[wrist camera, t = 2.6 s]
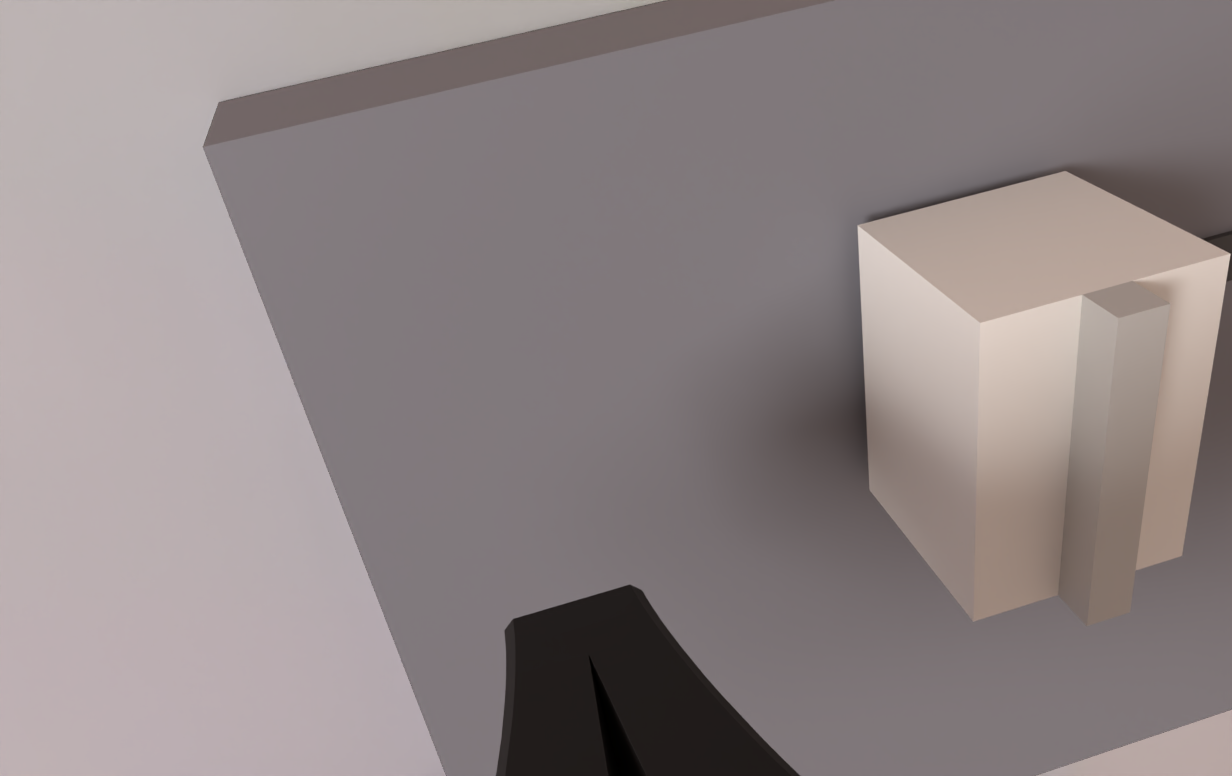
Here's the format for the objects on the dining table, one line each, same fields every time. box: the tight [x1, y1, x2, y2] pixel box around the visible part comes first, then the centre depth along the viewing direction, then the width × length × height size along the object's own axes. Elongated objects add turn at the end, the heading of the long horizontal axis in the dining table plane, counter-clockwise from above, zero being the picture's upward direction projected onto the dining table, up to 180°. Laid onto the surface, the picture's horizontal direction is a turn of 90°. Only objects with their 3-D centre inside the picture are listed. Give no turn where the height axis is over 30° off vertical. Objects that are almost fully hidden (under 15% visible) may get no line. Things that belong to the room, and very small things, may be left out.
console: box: [203, 0, 1232, 776], centre depth 17 cm, size 18×16×2 cm
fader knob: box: [858, 171, 1231, 626], centre depth 13 cm, size 3×4×4 cm
